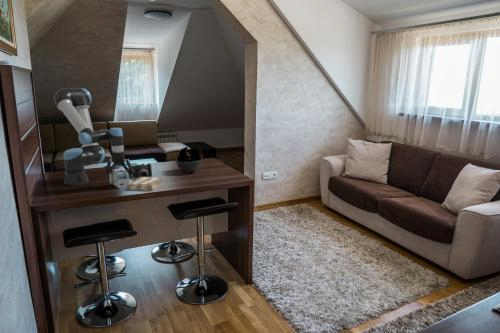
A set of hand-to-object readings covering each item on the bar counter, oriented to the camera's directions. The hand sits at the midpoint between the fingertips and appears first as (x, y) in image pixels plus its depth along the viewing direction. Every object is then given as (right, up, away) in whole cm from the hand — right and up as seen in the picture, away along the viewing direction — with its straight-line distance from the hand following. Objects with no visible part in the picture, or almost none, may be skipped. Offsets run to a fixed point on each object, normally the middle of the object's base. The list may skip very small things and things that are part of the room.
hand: (120, 183), depth 228 cm
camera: (+8, +3, +20) cm, 22 cm away
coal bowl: (+39, +7, +38) cm, 55 cm away
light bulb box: (0, -2, +1) cm, 2 cm away
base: (+17, -2, 0) cm, 17 cm away
